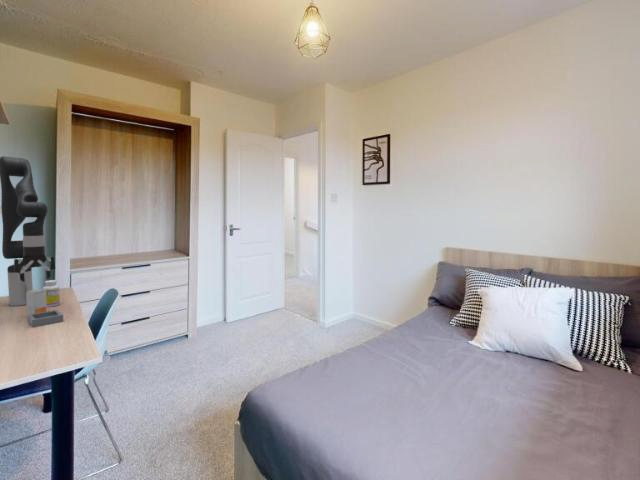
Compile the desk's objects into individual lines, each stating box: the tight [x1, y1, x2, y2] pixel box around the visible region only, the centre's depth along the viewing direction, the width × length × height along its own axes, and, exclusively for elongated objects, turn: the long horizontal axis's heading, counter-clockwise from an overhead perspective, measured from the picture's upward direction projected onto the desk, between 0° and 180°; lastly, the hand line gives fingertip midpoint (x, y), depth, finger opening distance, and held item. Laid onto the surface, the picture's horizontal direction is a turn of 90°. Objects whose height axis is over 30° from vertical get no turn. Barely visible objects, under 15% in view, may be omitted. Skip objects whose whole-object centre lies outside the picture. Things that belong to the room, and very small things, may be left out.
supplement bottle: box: [42, 279, 61, 308], centre depth 167 cm, size 7×7×13 cm
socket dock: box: [27, 309, 64, 328], centre depth 143 cm, size 10×10×3 cm
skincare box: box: [26, 288, 48, 318], centre depth 150 cm, size 6×4×12 cm
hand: (35, 280), depth 149 cm, fingers open, 8 cm apart
